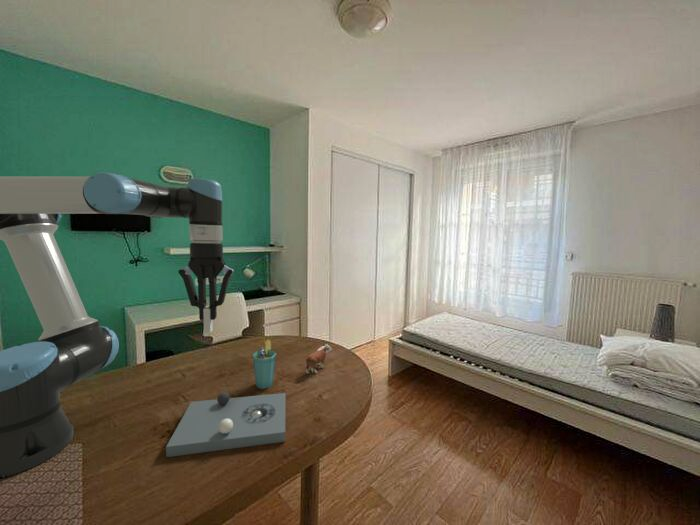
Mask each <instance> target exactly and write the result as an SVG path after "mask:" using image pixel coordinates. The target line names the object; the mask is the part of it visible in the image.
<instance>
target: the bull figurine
mask: <svg viewBox="0 0 700 525" xmlns="http://www.w3.org/2000/svg"><path fill="white" fill-rule="evenodd" d="M332 351H333V349H332V347H331V346H330V345H328V343H325V344H322V346H320V347H319V348H318V349H316V350H315V351H314V352H312V353H311V354H309V355H308V356H307V357H306V359H305V363H306V367H305V370H306V371H305V373H306V374H307V375H308V374H310V372H309V368H310V370H311V372H312V373H313V372H314V374H318V373H319V372H318V371H317V369H316V366H317V365H318V366H320V368H321V369H324V368H323V367H324V363H325V360H326V357H327V356H326V355H327V354H328V353H329V352H332Z"/></svg>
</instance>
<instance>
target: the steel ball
mask: <svg viewBox="0 0 700 525" xmlns="http://www.w3.org/2000/svg"><path fill="white" fill-rule="evenodd" d="M250 417H251V418H254V419H260V418H262V417H263V414H262V412H261V411H259V410H256V411H254V412H252V414H251V416H250Z"/></svg>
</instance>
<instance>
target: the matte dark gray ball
mask: <svg viewBox="0 0 700 525" xmlns="http://www.w3.org/2000/svg"><path fill="white" fill-rule="evenodd" d="M230 398H231V397H230V394H229V392H226V391H223V392H220V393H219V394H218V395H217V398H216V399H217V401H218V403H219V404H221V405H224V404H226V403H227V402H228V401H229V399H230Z"/></svg>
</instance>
